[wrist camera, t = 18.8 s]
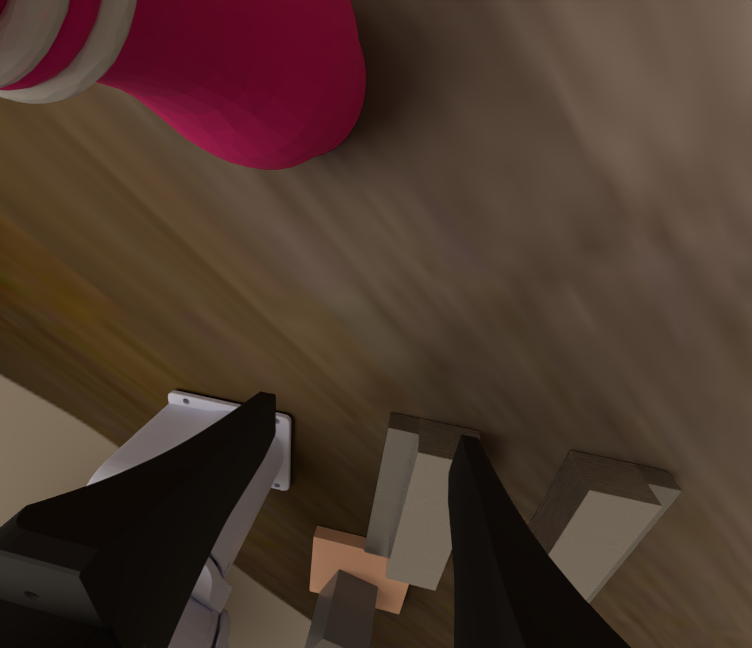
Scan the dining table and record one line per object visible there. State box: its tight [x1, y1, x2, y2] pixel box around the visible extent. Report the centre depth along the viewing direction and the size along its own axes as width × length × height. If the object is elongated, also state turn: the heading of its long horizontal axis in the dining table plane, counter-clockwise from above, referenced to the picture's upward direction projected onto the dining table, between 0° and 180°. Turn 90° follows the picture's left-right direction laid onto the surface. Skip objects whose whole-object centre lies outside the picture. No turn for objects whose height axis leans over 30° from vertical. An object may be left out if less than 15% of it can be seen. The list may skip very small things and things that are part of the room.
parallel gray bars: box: [364, 412, 682, 603], centre depth 24 cm, size 18×14×3 cm
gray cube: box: [305, 569, 378, 648], centre depth 29 cm, size 4×5×5 cm
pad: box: [310, 526, 409, 614], centre depth 31 cm, size 9×9×1 cm
